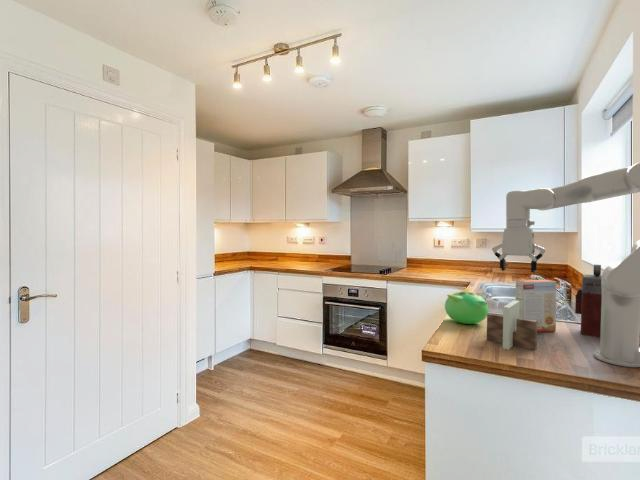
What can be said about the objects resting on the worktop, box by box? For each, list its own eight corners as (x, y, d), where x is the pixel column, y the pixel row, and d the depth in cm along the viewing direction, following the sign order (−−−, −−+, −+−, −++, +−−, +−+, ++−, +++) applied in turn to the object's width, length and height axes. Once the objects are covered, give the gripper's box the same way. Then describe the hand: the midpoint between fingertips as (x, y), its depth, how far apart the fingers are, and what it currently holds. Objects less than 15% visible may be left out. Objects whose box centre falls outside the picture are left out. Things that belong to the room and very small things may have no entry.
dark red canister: (575, 328, 147) (577, 262, 145) (609, 333, 139) (612, 264, 138) (573, 333, 140) (575, 264, 138) (609, 339, 132) (612, 266, 131)
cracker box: (546, 327, 147) (547, 279, 147) (556, 331, 141) (557, 281, 140) (514, 328, 147) (515, 279, 146) (522, 332, 141) (524, 281, 140)
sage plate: (518, 339, 132) (519, 301, 131) (508, 349, 122) (509, 307, 121) (512, 338, 133) (513, 300, 133) (502, 348, 123) (503, 306, 122)
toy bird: (487, 320, 158) (488, 288, 158) (488, 331, 143) (489, 295, 142) (446, 316, 166) (446, 286, 165) (443, 325, 150) (443, 292, 150)
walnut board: (536, 348, 123) (537, 320, 123) (535, 350, 121) (535, 322, 121) (488, 338, 134) (489, 312, 133) (486, 340, 132) (487, 314, 131)
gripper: (547, 224, 124) (547, 271, 124) (494, 225, 135) (495, 268, 136) (544, 224, 118) (544, 273, 119) (489, 225, 129) (489, 270, 130)
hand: (517, 271), depth 127 cm, fingers open, 9 cm apart
